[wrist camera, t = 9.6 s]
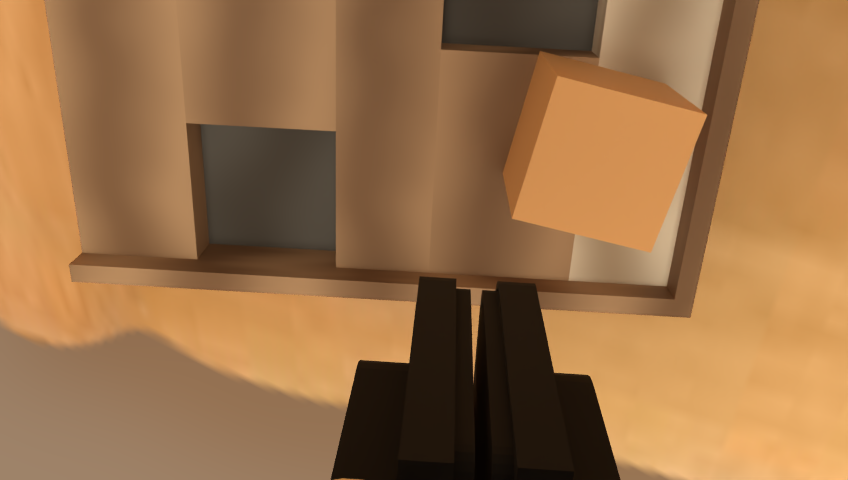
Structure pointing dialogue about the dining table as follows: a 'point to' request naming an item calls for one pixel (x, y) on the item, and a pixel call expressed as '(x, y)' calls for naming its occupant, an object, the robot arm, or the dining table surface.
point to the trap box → (367, 143)
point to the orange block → (599, 152)
